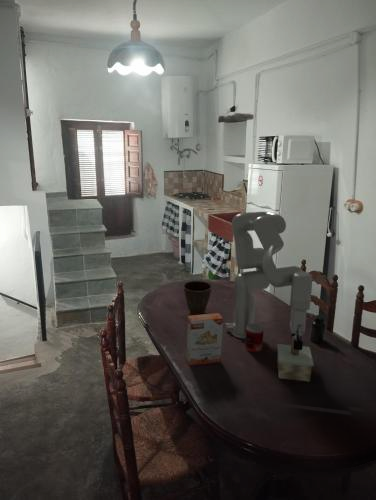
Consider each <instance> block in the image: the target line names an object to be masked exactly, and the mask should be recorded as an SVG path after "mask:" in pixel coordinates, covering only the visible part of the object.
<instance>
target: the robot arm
mask: <svg viewBox="0 0 376 500" xmlns="http://www.w3.org/2000/svg"><path fill="white" fill-rule="evenodd" d="M230 225H231V232H232V235H233V240H234V249H235V260H236V266H237V267H238V268H239V269H240V270H250V269H255V270H250V271H243V272H240V273H238V274H237V275H236V276H235V277H234V289H235V290H234V291H235V306H234V321H233V322H231V323H229V322H225V323H224V324H225V326H224V328H226V329H228V330H230V333H231V334H232V336H233V337H235V338H238V339H243V340H246V327H247V325H249V324H255V315H256V314H255V313H256V298H255V297H254V295H253V292H256V291H261V290H266V289H268V288H269V287H270V285H271V286H273V287H274V288H284V287H290V286H291V287H290V299H289V300H290V301H289V307H290V308H291V311H290V318H289V328H290V333H291V335H290V337H291V338H292V336H295V340H294V350H302V346H304V345H303V344H304V337H303V335H304V334H305V332H306V324H307V311H309V310H310V309H311V301H312V300H311V298H312V288H313V281H314V280H313V278H314V277H313V276H312V274H311V273H309V272H307V271H304V270H303V269H301V267H299V266H296V265H293V266H287V267H286V266H283V267H278V268H277V266H276V264H275V262H274V259H273V256H274V255H275V254H277V253H278V252H280V251H281V250H282V249H283V248H284V245H285V244H284V243H285V242H284V241H283V239H282V237H281V235H280V234H282V233H284V232H285V231H286V227H287V224H286V220H285V218H284V217H283V216H281V214H277V213H273V212H268V211H255V212H254V211H253V212H252V211H251V212H248V211H247V212H240V213H237V214H236V215H235V216H233V218H232V220H231V224H230ZM250 231H251V232H252V231H254V232H255V234H256V236H257V238H258V240H259V242H260V244H261V245H262V247H254V239H253V237H252V235H251V234H250Z"/></svg>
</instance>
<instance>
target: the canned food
mask: <svg viewBox="0 0 376 500" xmlns="http://www.w3.org/2000/svg"><path fill="white" fill-rule="evenodd" d="M244 342H245V343H244V345H245V346H244V348H245V350H247V351H248V352H251V353H259V352H261V351H262V350H263V342H264V326H263V325H261V324H257V323H254V324H249V325H247V327H246V339H245V341H244Z"/></svg>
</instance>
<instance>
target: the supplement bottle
mask: <svg viewBox="0 0 376 500" xmlns="http://www.w3.org/2000/svg"><path fill="white" fill-rule="evenodd" d="M325 319H326V318H325V316H323V315H320V314H319V315H318V314H317V315H314V317H313V321H311V323H310V331H309V341H311V342H312V343H314V344H315V343H317V344H322V343H324V342H325V336H326V332H327V331H326V330H327V323H326V322H325V321H326V320H325Z"/></svg>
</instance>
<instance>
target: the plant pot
mask: <svg viewBox="0 0 376 500" xmlns="http://www.w3.org/2000/svg"><path fill="white" fill-rule="evenodd" d="M183 290H184V296H185V301H186V304H187V307H188V310H189V313H190V314H191V315H203V314H205V311H206V309H207V307H208V303H209V300H210V297H211V293H212V284H211V283H209V282H206V281H201V280H200V281H199V280H195V281H194V280H192V281H188V282H187V283H184V285H183Z"/></svg>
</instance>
